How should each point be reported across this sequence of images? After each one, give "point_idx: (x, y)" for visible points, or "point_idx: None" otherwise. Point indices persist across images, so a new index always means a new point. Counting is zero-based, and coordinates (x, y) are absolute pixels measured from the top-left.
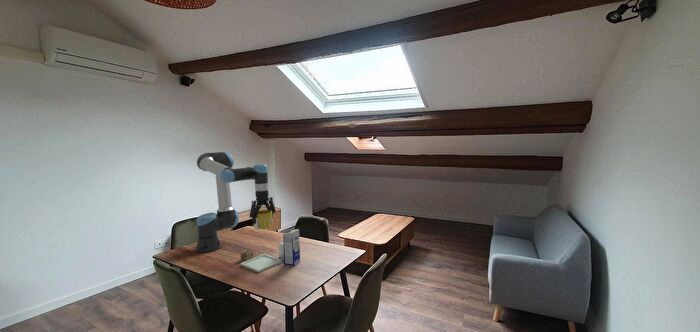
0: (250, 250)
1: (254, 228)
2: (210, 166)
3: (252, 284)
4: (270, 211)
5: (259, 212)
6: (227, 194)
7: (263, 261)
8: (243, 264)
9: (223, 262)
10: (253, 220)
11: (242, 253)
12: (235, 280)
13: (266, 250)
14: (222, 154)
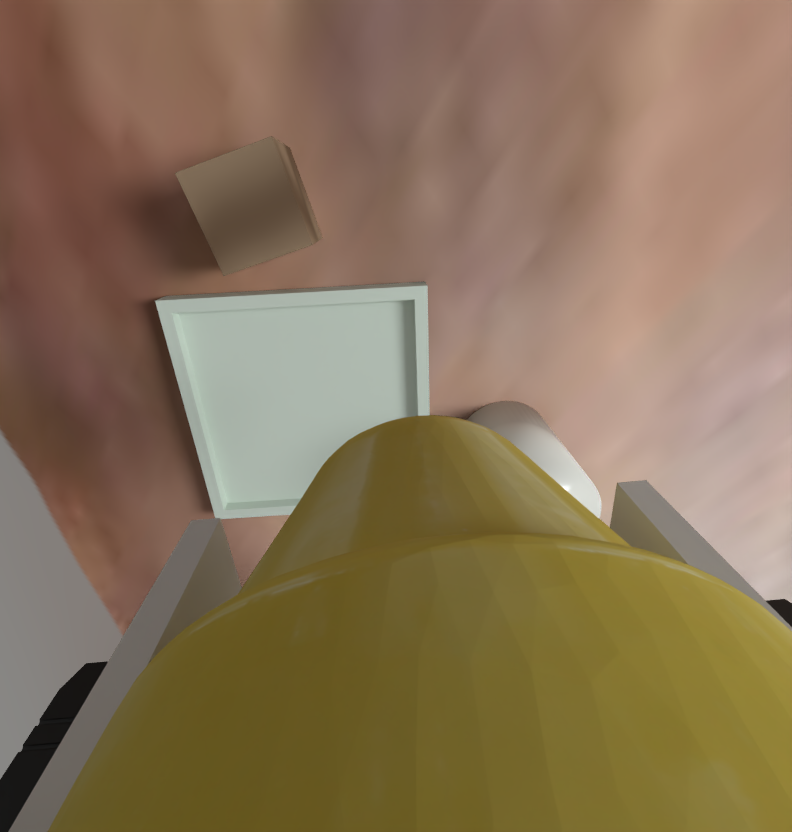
0: (299, 210)
1: (193, 530)
2: None
3: (132, 590)
4: None
5: (625, 792)
6: None
7: (337, 396)
8: (167, 345)
9: (34, 44)
10: (18, 803)
11: (193, 206)
12: (56, 487)
13: (539, 151)
14: None
